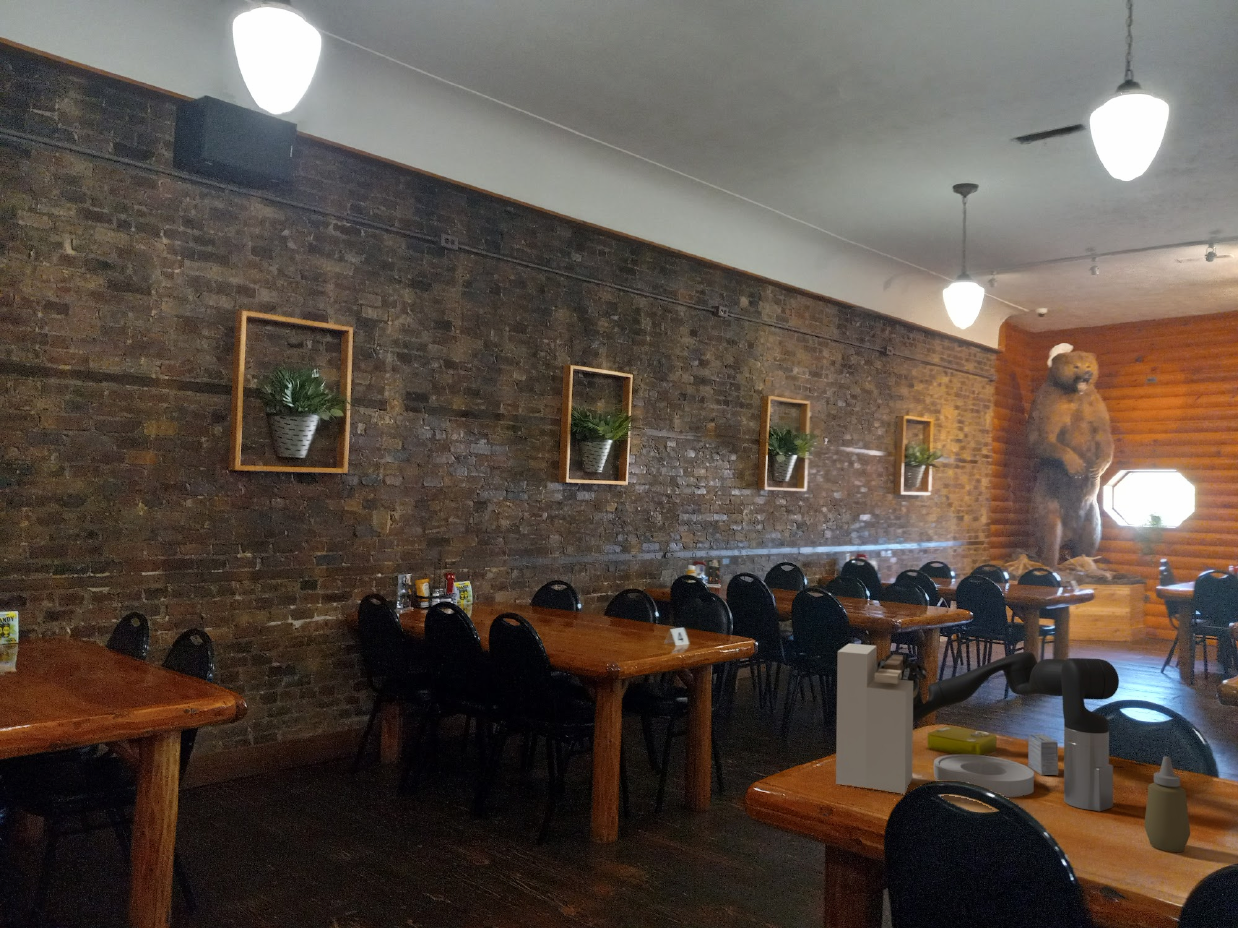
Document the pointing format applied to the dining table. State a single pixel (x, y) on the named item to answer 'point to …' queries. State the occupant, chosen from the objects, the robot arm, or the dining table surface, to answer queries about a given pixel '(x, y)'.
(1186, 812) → the squeeze bottle
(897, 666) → the brown bar
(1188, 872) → the dining table surface
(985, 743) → the element tile
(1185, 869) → the dining table surface
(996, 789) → the ashtray
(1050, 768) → the medicine box
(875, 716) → the display stand
